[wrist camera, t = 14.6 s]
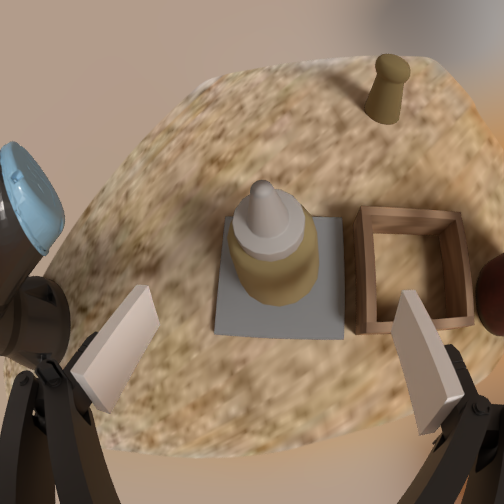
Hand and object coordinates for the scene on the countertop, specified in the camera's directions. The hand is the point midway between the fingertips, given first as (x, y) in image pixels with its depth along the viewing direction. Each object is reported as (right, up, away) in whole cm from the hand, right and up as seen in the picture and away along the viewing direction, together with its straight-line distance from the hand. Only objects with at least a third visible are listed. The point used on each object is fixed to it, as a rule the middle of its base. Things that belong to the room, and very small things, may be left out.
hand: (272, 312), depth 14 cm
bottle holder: (+17, 0, +16) cm, 23 cm away
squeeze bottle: (+2, 0, +17) cm, 18 cm away
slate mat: (+2, 0, +18) cm, 18 cm away
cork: (+20, +26, +24) cm, 40 cm away
